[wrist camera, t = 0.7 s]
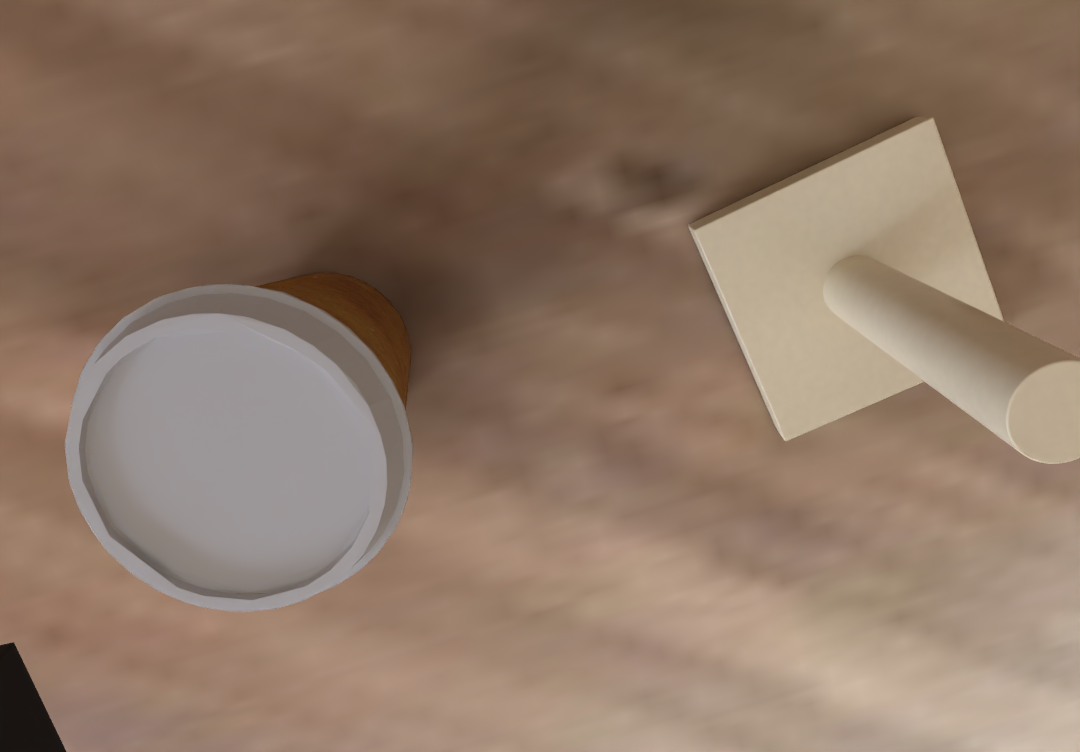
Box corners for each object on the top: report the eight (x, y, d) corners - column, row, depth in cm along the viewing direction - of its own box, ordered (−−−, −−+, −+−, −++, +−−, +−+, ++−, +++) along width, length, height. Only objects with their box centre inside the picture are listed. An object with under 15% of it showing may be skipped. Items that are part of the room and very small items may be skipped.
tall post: (687, 224, 34) (792, 318, 19) (917, 116, 33) (1218, 127, 18) (776, 428, 36) (931, 653, 22) (994, 334, 35) (1317, 502, 20)
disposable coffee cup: (170, 271, 35) (-17, 355, 23) (405, 198, 34) (330, 246, 22) (263, 491, 37) (136, 663, 26) (484, 428, 37) (453, 577, 25)
